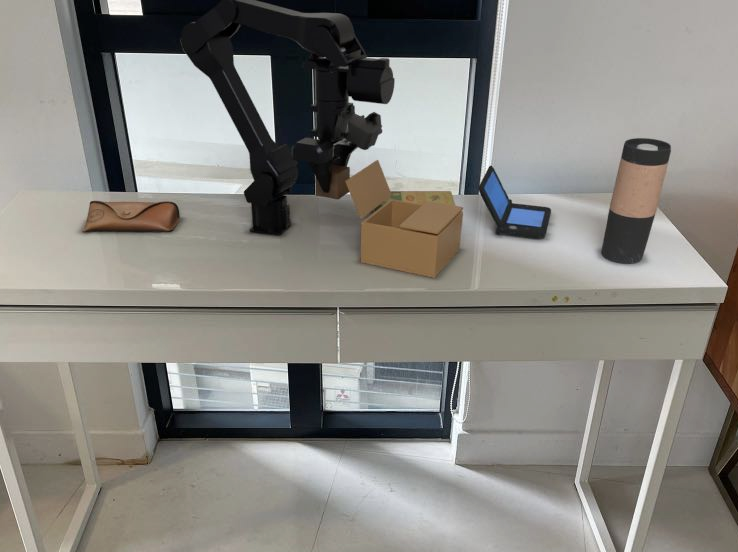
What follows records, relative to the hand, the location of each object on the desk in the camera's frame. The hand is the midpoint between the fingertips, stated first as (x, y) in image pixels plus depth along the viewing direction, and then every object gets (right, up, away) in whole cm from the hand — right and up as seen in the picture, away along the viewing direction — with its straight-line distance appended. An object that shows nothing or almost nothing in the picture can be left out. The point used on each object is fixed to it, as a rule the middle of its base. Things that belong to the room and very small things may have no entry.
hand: (332, 188), depth 131 cm
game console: (+36, -4, +13) cm, 38 cm away
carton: (+16, -2, +16) cm, 23 cm away
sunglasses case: (-40, -4, +12) cm, 42 cm away
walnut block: (0, -1, +1) cm, 1 cm away
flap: (+7, -1, -3) cm, 8 cm away
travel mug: (+52, -12, 0) cm, 54 cm away
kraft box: (+14, -12, 0) cm, 19 cm away
